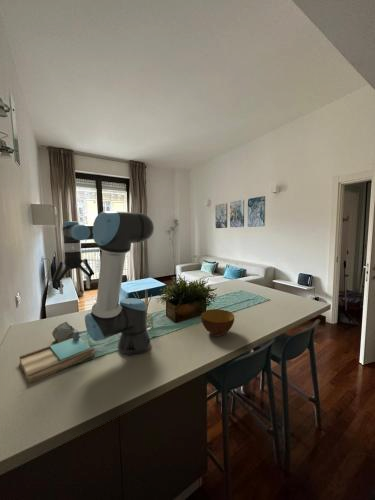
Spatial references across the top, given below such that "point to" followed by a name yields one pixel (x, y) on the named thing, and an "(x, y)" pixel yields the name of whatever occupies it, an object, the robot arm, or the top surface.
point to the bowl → (217, 321)
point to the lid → (70, 347)
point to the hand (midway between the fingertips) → (75, 290)
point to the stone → (63, 332)
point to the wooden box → (48, 362)
